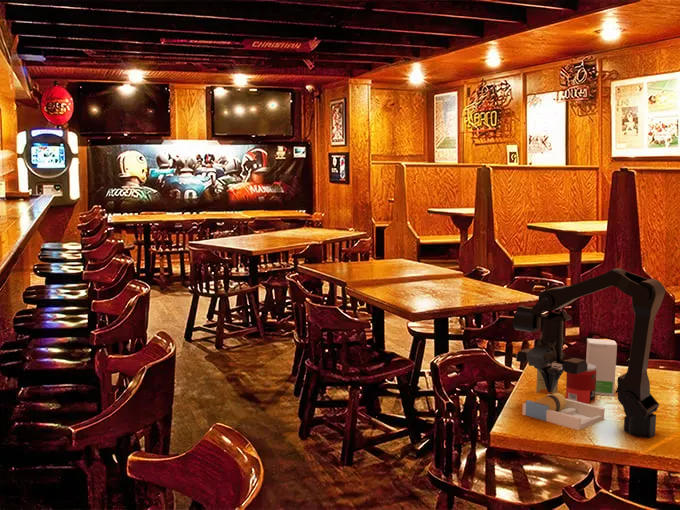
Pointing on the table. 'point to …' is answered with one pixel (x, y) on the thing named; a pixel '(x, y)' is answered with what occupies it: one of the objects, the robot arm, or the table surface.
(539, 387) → the shoe polish box
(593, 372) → the canned food
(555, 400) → the banded tan cylinder
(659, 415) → the table surface
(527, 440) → the table surface
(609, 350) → the skincare box
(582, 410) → the white storage bin
